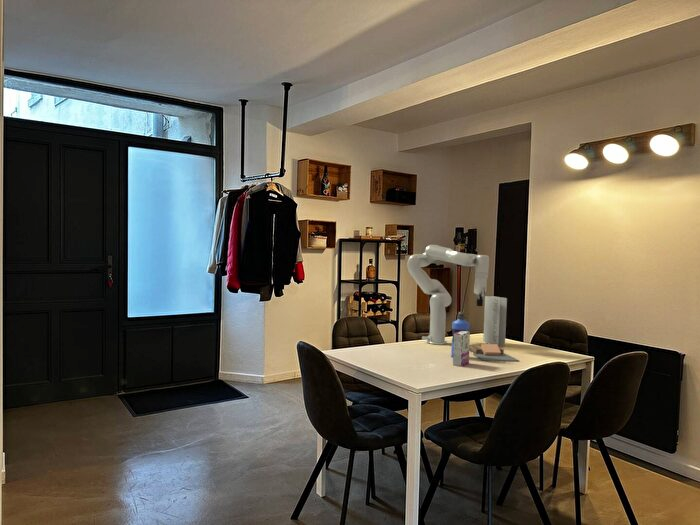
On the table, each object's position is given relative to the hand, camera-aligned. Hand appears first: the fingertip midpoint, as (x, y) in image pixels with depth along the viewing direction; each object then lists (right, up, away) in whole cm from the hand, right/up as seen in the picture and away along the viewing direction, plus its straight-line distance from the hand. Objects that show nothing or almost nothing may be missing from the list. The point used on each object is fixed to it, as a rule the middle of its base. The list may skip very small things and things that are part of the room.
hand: (479, 305), depth 317 cm
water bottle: (-18, -26, -28) cm, 42 cm away
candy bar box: (-21, -26, -46) cm, 57 cm away
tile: (+1, -24, -20) cm, 31 cm away
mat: (+2, -27, -27) cm, 38 cm away
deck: (+1, -26, -12) cm, 29 cm away
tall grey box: (+14, -26, +19) cm, 35 cm away
